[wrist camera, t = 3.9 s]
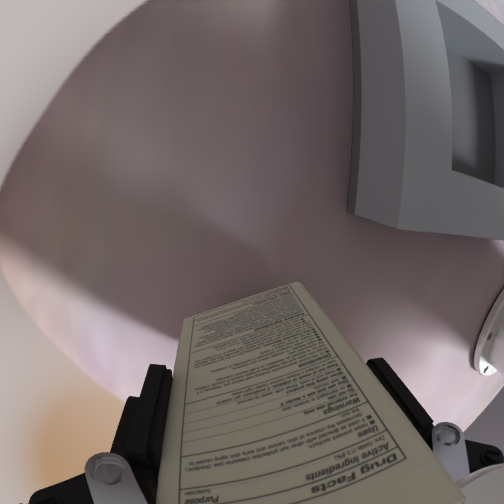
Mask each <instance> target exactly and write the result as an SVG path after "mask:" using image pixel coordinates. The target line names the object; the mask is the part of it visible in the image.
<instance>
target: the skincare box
mask: <svg viewBox="0 0 504 504" xmlns="http://www.w3.org/2000/svg"><path fill="white" fill-rule="evenodd" d="M465 501H466V497H465V496H464V494H463V493H462V492H461V490H460V489H459V488H458V486H457V485H456V483H455V482H454V481H453V479H452V478H451V476H450V475H449V474H448V472H447V471H446V470H445V468H444V467H443V465H442V464H441V463H440V461H439V460H438V458H437V457H436V456H435V454H434V453H433V452H432V450H431V449H430V448H429V446H428V445H427V444H426V442H425V441H424V440H423V438H422V437H421V435H420V434H419V433H418V431H417V430H416V429H415V427H414V426H413V425H412V423H411V422H410V421H409V419H408V418H407V417H406V415H405V414H404V413H403V411H402V410H401V409H400V407H399V406H398V405H397V404H396V402H395V401H394V400H393V398H392V397H391V396H390V394H389V393H388V392H387V391H386V389H385V388H384V387H383V385H382V384H381V383H380V382H379V380H378V379H377V378H376V377H375V375H374V374H373V372H372V371H371V370H370V368H369V367H368V366H367V365H366V363H365V362H364V361H363V359H362V358H361V357H360V355H359V354H358V353H357V351H356V350H355V349H354V348H353V346H352V345H351V344H350V343H349V341H348V340H347V339H346V338H345V336H344V335H343V334H342V333H341V331H340V330H339V329H338V328H337V326H336V325H335V324H334V323H333V321H332V320H331V319H330V318H329V316H328V315H327V314H326V312H325V311H324V310H323V309H322V307H321V306H320V305H319V304H318V302H317V301H316V300H315V299H314V298H313V296H312V295H311V294H310V292H309V291H308V290H307V289H306V288H305V286H304V285H303V284H302V283H301V282H299V281H296V282H292V283H289V284H286V285H283V286H279V287H277V288H273V289H270V290H267V291H264V292H261V293H258V294H255V295H252V296H249V297H246V298H243V299H240V300H237V301H234V302H231V303H228V304H225V305H222V306H219V307H216V308H213V309H210V310H207V311H205V312H202V313H199V314H196V315H193V316H190V317H187V318H185V319H184V320H183V323H182V329H181V334H180V339H179V344H178V349H177V355H176V361H175V366H174V372H173V380H172V385H171V391H170V396H169V403H168V409H167V416H166V423H165V430H164V436H163V443H162V453H161V461H160V469H159V477H158V488H157V499H156V504H461V503H464V502H465Z"/></svg>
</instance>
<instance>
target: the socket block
mask: <svg viewBox="0 0 504 504" xmlns="http://www.w3.org/2000/svg"><path fill="white" fill-rule="evenodd" d="M349 1H350V12H351V25H352V44H353V133H352V153H351V168H350V181H349V193H348V203H347V212H348V213H352V214H355V215H358V216H360V217H363V218H366V219H369V220H372V221H375V222H378V223H381V224H384V225H386V226H389V227H392V228H395V229H397V230H409V231H420V232H431V233H441V234H451V235H461V236H470V237H479V238H488V239H496V240H504V25H503V24H502V23H501V22H500V21H499V20H498V19H496V18H495V17H494V16H493V15H492V14H491V13H490V12H488V11H487V10H486V9H485V8H483V7H482V6H481V5H480V4H478V3H477V2H476V1H475V0H349Z"/></svg>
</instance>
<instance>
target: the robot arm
mask: <svg viewBox="0 0 504 504" xmlns="http://www.w3.org/2000/svg"><path fill="white" fill-rule="evenodd" d="M366 365H367V366H368V367H369V368H370V370H371V371H372V372H373V374H374V375H375V377H376V378H377V379H378V380H379V382H380V383H381V384H382V385H383V387H384V388H385V389H386V391H387V392H388V393H389V394H390V396H391V397H392V398H393V400H394V401H395V402H396V404H397V405H398V406H399V407H400V409H401V410H402V411H403V413H404V414H405V415H406V417H407V418H408V419H409V421H410V422H411V423H412V425H413V426H414V427H415V429H416V430H417V431H418V433H419V434H420V435H421V437H422V438H423V440H424V441H425V442H426V444H427V445H428V446H429V448H430V449H431V450H432V452H433V453H434V454H435V456H436V457H437V458H438V460H439V461H440V463H441V464H442V465H443V467H444V468H445V470H446V471H447V472H448V474H449V475H450V476H451V478H452V479H453V481H454V482H455V483H456V485H457V486H458V488H459V489H460V490H461V492H462V493H463V494H464V496H465V497H466V501H465V502H464V503H461V504H504V456H503V454H502V452H501V451H500V450H499V449H498V448H497V447H494V446H492V445H487V444H482V443H477V442H473V441H469V440H465V439H464V435H463V432H462V430H461V429H460V428H459V427H458V426H456V425H455V424H453V423H449V422H441V423H439V424H437V425H436V426H434V425H433V424H432V423H433V420H432V419H431V417H430V416H429V415H428V413H427V412H426V411H425V410H424V408H423V407H422V406H421V404H420V403H419V402H418V401H417V399H416V398H415V397H414V396H413V394H412V393H411V392H410V391H409V389H408V388H407V387H406V386H405V384H404V383H403V382H402V381H401V379H400V378H399V377H398V376H397V374H396V373H395V372H394V371H393V369H392V368H391V367H390V366H389V364H388V363H387V362H386V361H385V360H384V359H383V358H375V359H369V360H368V361H367V363H366ZM474 367H475V369H476V371H477V372H478V373H479V374H481V375H482V376H488V375H491V374H493V373H495V372H496V371H499V372H500V373H501V374H502V375H504V289H503V290H502V292H501V293H500V295H499V296H498V298H497V300H496V301H495V303H494V305H493V307H492V309H491V311H490V312H489V314H488V317H487V319H486V321H485V323H484V325H483V328H482V330H481V333H480V335H479V339H478V342H477V345H476V349H475V353H474ZM172 380H173V378H172V371H171V369H166V365H157V364H150V366H149V368H148V372H147V375H146V378H145V381H144V384H143V388H142V391H141V394H140V397H133V396H129V397H128V399H127V401H126V404H125V407H124V410H123V413H122V416H121V419H120V422H119V425H118V428H117V431H116V434H115V438H114V441H113V444H112V448H111V451H110V452H103V453H99V454H95V455H94V456H92V457H91V458H90V459H89V460H88V461H87V462H86V465H85V473H83V474H80V475H78V476H76V477H73V478H71V479H69V480H66V481H63V482H60V483H58V484H55V485H52V486H49V487H47V488H44V489H41V490H38V491H36V492H35V493H34V494H33V495H32V496H31V498H30V501H29V503H28V504H156V499H157V488H158V477H159V469H160V461H161V453H162V443H163V436H164V430H165V423H166V416H167V409H168V403H169V396H170V391H171V385H172ZM20 504H23V503H20Z"/></svg>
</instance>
